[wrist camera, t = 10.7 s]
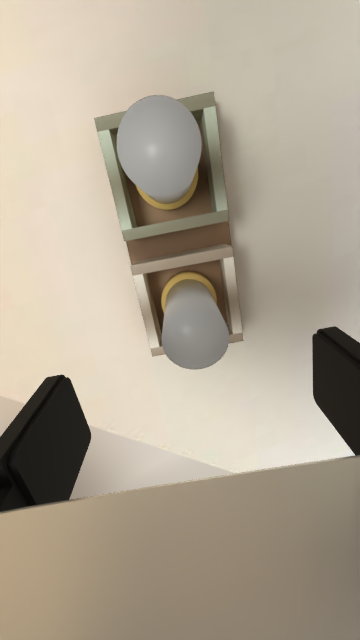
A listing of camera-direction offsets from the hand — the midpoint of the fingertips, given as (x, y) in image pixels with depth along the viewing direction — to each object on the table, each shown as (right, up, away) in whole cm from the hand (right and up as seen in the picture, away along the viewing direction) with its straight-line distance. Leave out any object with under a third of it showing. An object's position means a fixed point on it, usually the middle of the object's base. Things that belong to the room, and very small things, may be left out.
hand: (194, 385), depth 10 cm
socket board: (-1, +10, +15) cm, 18 cm away
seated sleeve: (-2, +14, +12) cm, 18 cm away
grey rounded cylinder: (0, +5, +15) cm, 16 cm away
